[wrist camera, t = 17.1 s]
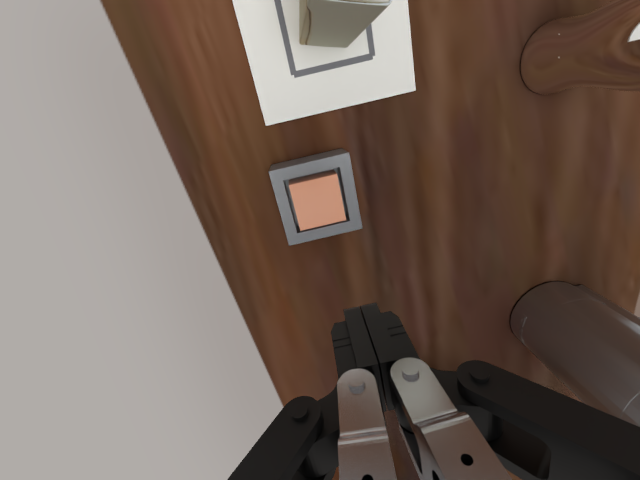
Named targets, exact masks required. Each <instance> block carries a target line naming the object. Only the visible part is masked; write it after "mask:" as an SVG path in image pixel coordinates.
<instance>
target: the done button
mask: <svg viewBox="0 0 640 480" xmlns="http://www.w3.org/2000/svg"><path fill="white" fill-rule="evenodd" d="M289 189H290V192H291V196H292V200H293V204H294V208H295V212H296V216H297V219H298V223H299V227H300V231H302V230H306V229H310V228H315V227H319V226H323V225H327V224H332V223H336V222H340V221H344V220H346V216H345V211H344V206H343V201H342V196H341V191H340V186H339V181H338V176H337V173H336V172H335V171H334V169H333V170H328V171H324V172H320V173H316V174H311V175H307V176H303V177H299V178H294V179H290V180H289Z"/></svg>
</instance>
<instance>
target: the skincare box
mask: <svg viewBox="0 0 640 480" xmlns="http://www.w3.org/2000/svg"><path fill="white" fill-rule="evenodd" d="M391 2H392V0H299V43H300V44H301V45H311V46H323V47H340V48H346V47H348V46H349V45H350V44H351V43H352V42H353V41H354V40H355V39H356V38H357V37H358V36H359V35H360V34H361V33H362V32H363V31H364V30H365V29H366V28H367V27H368V26H369V25H370V24H371V23H372V22H373V21H374V20H375V19H376V18H377V17H378V16H379V15H380V14H381V13H382V12H383V11H384V10H385V9H386V8H387V7H388V6H389V5H390V4H391Z"/></svg>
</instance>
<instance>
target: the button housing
mask: <svg viewBox="0 0 640 480" xmlns="http://www.w3.org/2000/svg"><path fill="white" fill-rule="evenodd" d="M333 169H334V171H335V172H336V173H337V176H338V181H339V186H340V191H341V196H342V201H343V206H344V211H345V216H346V220H344V221H340V222H336V223H332V224H327V225H323V226H319V227H315V228H310V229H306V230H302V231H300V227H299V223H298V219H297V216H296V212H295V208H294V204H293V200H292V196H291V192H290V189H289V180H290V179H294V178H299V177H303V176H307V175H311V174H316V173H320V172H324V171H328V170H333ZM269 175H270V179H271V182H272V186H273V190H274V193H275V197H276V200H277V204H278V207H279V211H280V215H281V218H282V222H283V225H284V229H285V233H286V236H287V240H288V243H289V246H290V245H294V244H299V243H303V242H307V241H311V240H316V239H320V238H324V237H328V236H333V235H337V234H341V233H345V232H350V231H354V230H358V229H362V223H361V217H360V211H359V206H358V200H357V194H356V189H355V183H354V178H353V172H352V166H351V161H350V155H349V152H347V151H346V150H344V149H343V148H340V149H336V150H332V151H328V152H323V153H319V154H315V155H311V156H307V157H302V158H298V159H294V160H290V161H285V162H281V163H277V164H273V165H271V167H270V169H269Z"/></svg>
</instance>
